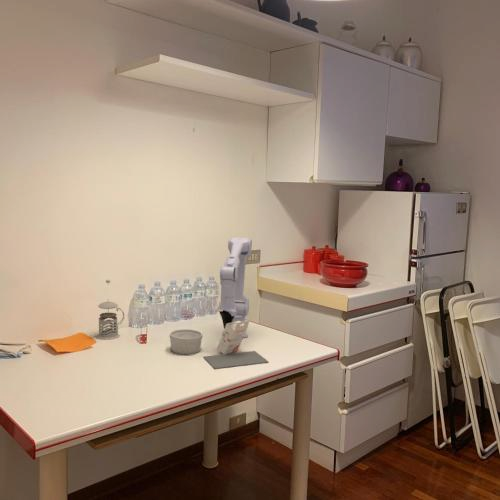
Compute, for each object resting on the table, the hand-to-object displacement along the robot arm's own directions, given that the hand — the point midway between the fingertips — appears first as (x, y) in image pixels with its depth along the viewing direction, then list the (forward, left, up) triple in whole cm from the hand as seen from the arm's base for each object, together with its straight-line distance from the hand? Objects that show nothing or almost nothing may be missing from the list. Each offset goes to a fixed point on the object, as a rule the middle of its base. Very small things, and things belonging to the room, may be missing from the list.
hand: (227, 329), depth 203 cm
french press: (-34, -41, -10) cm, 54 cm away
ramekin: (-7, -15, -10) cm, 19 cm away
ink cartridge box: (0, 0, -8) cm, 9 cm away
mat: (+10, 0, -9) cm, 14 cm away
